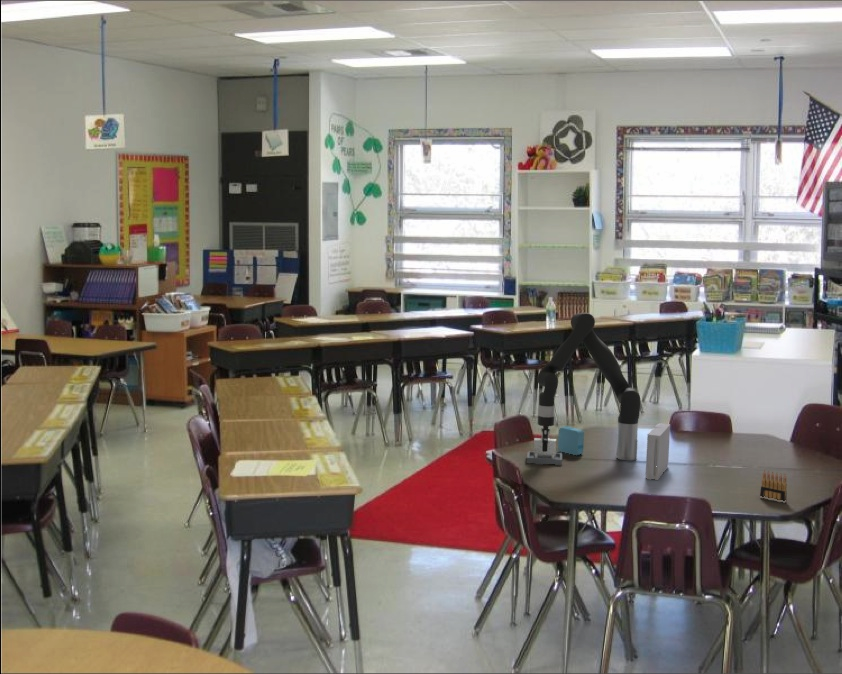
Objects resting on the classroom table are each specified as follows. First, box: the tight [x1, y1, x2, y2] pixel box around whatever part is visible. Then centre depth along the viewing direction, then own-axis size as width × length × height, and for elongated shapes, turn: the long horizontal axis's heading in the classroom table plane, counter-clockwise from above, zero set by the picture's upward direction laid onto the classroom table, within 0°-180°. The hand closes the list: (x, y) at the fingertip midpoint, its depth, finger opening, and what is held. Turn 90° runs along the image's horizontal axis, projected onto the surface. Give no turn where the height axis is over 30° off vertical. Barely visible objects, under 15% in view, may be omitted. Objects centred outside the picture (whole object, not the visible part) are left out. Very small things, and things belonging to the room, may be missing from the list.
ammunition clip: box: [759, 469, 788, 501], centre depth 459 cm, size 11×2×12 cm, turn 49°
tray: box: [526, 451, 563, 466], centre depth 518 cm, size 16×13×4 cm
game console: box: [644, 422, 671, 481], centre depth 500 cm, size 6×27×20 cm, turn 158°
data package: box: [557, 426, 585, 456], centre depth 535 cm, size 12×4×12 cm, turn 43°
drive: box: [533, 437, 557, 459], centre depth 517 cm, size 10×4×9 cm, turn 82°
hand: (544, 449), depth 517 cm, fingers open, 8 cm apart
